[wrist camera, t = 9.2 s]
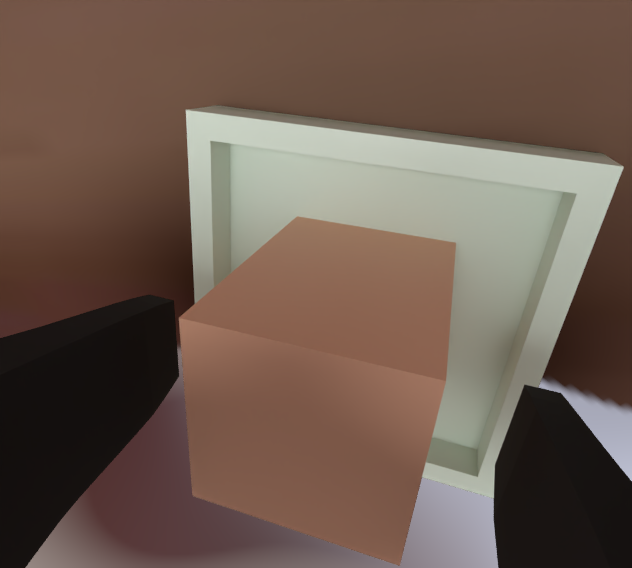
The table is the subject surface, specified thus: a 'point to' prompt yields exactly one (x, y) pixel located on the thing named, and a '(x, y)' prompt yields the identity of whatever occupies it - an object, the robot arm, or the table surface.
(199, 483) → the terracotta block
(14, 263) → the table surface
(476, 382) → the tray
